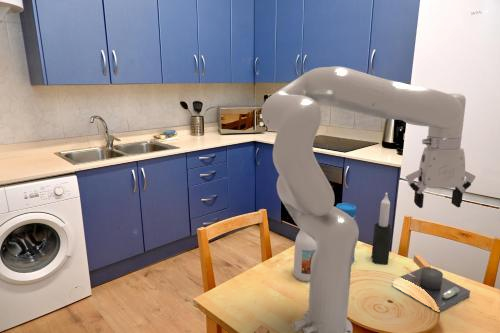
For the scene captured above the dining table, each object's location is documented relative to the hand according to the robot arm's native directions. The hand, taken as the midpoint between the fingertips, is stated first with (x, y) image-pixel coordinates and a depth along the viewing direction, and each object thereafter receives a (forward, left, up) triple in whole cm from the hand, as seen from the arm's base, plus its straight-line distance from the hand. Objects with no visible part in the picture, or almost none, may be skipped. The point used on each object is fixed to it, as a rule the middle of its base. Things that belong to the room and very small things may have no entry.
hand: (437, 205), depth 93 cm
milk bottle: (-21, +27, -29) cm, 45 cm away
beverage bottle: (-3, +29, -29) cm, 41 cm away
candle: (+8, +22, -29) cm, 37 cm away
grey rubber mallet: (+7, +5, -26) cm, 28 cm away
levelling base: (+6, +2, -29) cm, 29 cm away
